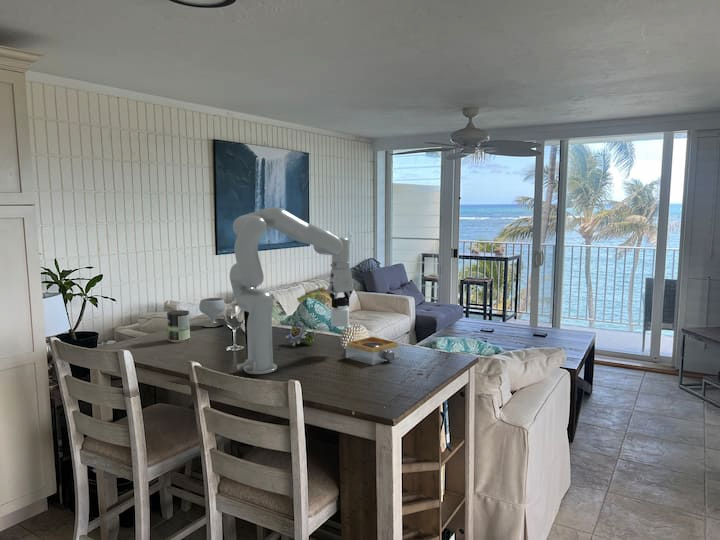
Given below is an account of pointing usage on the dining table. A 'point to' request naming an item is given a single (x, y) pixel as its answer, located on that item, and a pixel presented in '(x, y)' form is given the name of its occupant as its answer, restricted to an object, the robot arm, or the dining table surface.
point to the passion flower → (299, 335)
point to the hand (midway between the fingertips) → (340, 306)
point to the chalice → (212, 307)
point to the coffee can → (178, 325)
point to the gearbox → (372, 350)
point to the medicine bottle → (340, 313)
